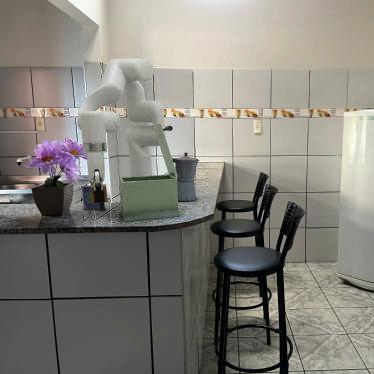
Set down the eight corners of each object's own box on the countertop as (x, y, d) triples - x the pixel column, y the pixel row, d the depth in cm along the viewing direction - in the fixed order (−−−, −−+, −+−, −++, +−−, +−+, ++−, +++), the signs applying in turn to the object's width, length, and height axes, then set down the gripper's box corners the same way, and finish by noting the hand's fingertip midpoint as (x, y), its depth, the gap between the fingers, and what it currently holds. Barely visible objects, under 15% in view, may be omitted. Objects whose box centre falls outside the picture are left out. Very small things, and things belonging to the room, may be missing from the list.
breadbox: (123, 221, 116) (121, 182, 114) (121, 212, 130) (119, 177, 128) (178, 216, 123) (177, 178, 121) (171, 208, 136) (169, 174, 134)
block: (92, 200, 127) (90, 185, 126) (107, 199, 129) (106, 184, 128) (91, 203, 123) (90, 187, 122) (107, 202, 124) (106, 186, 124)
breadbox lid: (158, 123, 116) (172, 119, 118) (152, 124, 130) (165, 121, 131) (175, 178, 121) (189, 173, 122) (168, 173, 134) (180, 169, 136)
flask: (82, 209, 136) (79, 181, 135) (87, 207, 139) (85, 180, 138) (102, 210, 134) (100, 182, 132) (107, 209, 136) (105, 181, 135)
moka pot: (206, 198, 155) (204, 152, 152) (175, 204, 144) (173, 153, 141) (193, 196, 161) (191, 151, 158) (162, 201, 151) (160, 153, 148)
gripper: (84, 147, 129) (88, 197, 132) (81, 150, 114) (86, 206, 117) (106, 146, 132) (110, 195, 135) (107, 149, 116) (111, 204, 119)
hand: (99, 200), depth 126 cm, fingers closed on block, 5 cm apart
